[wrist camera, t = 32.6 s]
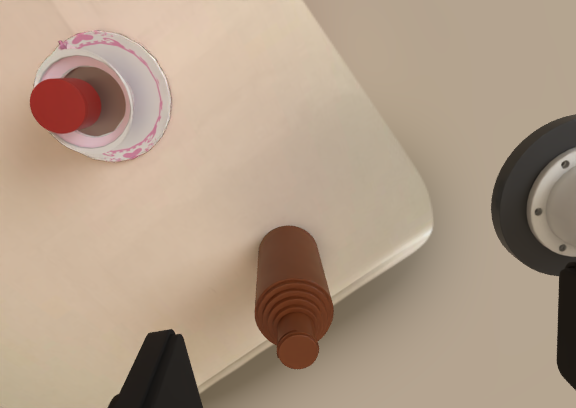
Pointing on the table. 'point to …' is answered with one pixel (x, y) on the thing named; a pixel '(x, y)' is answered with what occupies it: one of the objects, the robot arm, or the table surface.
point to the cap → (65, 104)
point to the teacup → (113, 94)
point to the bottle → (292, 295)
